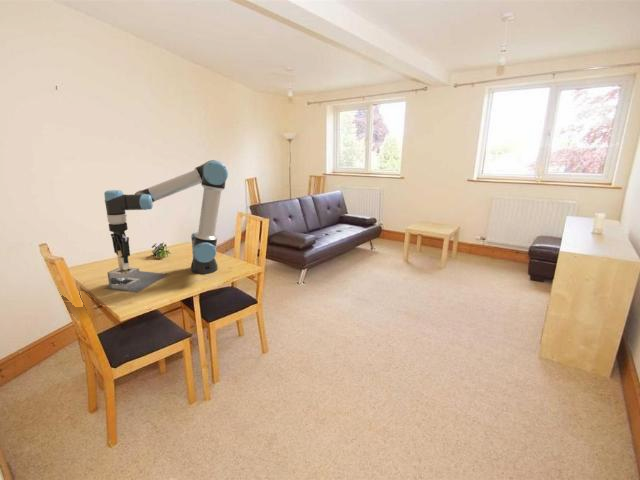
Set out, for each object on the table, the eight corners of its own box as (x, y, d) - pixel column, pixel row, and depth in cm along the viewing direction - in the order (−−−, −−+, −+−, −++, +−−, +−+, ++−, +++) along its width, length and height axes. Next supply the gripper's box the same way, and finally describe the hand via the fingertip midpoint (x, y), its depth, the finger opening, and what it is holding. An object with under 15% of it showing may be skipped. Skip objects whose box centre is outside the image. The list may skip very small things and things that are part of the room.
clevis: (140, 283, 162) (138, 268, 160) (127, 290, 154) (125, 274, 151) (123, 281, 164) (121, 266, 161) (109, 288, 155) (107, 272, 153)
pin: (130, 274, 158) (127, 249, 155) (125, 276, 155) (122, 251, 152) (124, 273, 159) (121, 249, 155) (119, 275, 156) (115, 251, 152)
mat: (169, 274, 176) (169, 274, 175) (137, 293, 152) (137, 292, 152) (139, 271, 178) (139, 271, 178) (103, 289, 155) (103, 288, 155)
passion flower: (156, 264, 207) (153, 247, 210) (173, 260, 209) (170, 243, 212) (150, 259, 196) (148, 242, 199) (169, 255, 199) (166, 238, 202)
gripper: (134, 223, 148) (140, 269, 154) (118, 219, 157) (124, 262, 163) (117, 226, 142) (124, 274, 148) (101, 221, 151) (108, 266, 157)
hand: (124, 267), depth 156 cm, fingers closed on pin, 3 cm apart
